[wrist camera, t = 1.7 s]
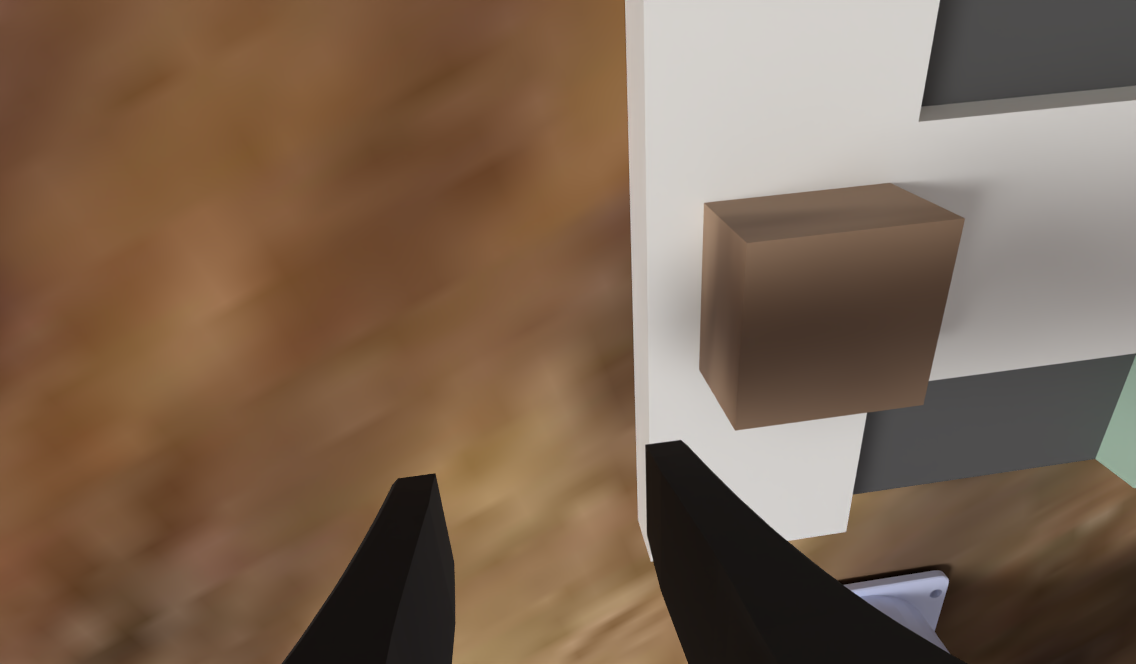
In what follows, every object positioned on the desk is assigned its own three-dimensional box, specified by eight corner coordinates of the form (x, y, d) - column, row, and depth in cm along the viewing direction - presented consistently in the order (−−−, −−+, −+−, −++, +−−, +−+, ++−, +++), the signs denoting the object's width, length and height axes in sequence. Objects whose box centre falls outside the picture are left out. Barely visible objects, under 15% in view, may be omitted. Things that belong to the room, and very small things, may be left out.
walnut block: (862, 348, 20) (923, 405, 17) (698, 369, 19) (734, 430, 17) (890, 182, 17) (965, 218, 15) (703, 202, 17) (746, 242, 14)
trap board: (1273, 426, 26) (1330, 458, 25) (638, 519, 24) (650, 561, 23) (1611, -202, 17) (1742, -223, 15) (621, -138, 15) (641, -154, 13)
